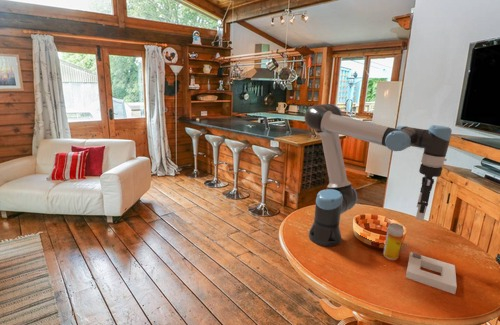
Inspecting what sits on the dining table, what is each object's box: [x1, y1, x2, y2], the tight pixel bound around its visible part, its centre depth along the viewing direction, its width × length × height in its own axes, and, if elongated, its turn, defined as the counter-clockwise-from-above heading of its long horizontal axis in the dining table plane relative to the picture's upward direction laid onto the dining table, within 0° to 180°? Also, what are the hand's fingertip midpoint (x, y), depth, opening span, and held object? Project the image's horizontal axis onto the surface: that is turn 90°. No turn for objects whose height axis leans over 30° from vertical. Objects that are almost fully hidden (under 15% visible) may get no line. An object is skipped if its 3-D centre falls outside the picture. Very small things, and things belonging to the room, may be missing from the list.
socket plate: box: [405, 251, 458, 295], centre depth 114 cm, size 16×16×4 cm
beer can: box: [382, 222, 405, 261], centre depth 123 cm, size 6×6×15 cm
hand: (419, 213), depth 120 cm, fingers open, 13 cm apart
